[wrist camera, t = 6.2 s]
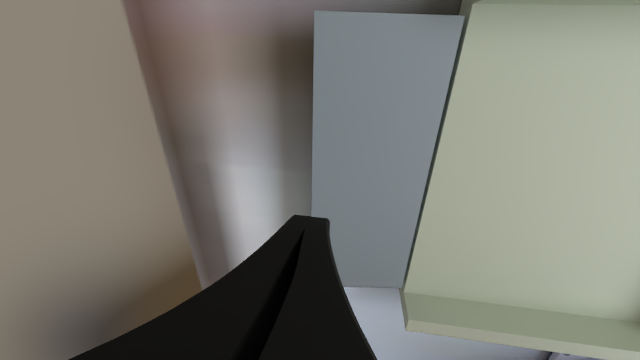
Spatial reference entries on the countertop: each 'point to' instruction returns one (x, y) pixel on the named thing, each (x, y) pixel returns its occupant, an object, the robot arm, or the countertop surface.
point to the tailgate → (376, 133)
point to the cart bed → (535, 183)
